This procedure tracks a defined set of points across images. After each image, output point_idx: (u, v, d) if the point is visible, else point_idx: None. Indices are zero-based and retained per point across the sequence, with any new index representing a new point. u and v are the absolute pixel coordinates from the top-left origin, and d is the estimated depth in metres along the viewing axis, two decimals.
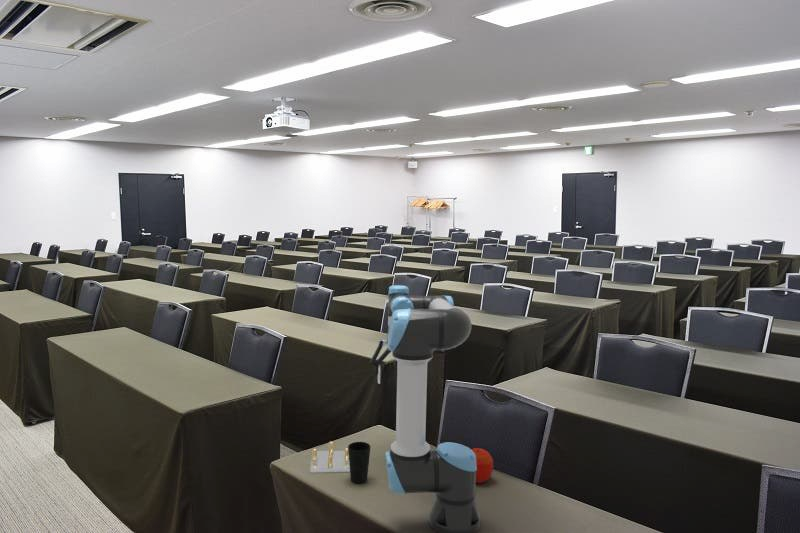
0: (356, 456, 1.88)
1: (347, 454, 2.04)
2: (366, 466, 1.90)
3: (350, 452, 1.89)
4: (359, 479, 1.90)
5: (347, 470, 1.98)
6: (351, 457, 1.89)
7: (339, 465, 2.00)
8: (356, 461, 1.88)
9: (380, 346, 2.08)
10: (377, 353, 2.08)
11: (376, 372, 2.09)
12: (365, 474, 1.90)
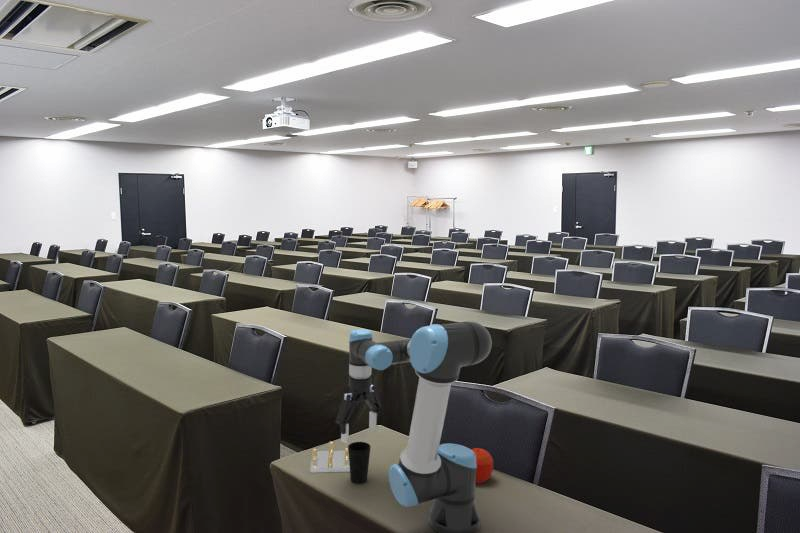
0: (356, 456, 1.88)
1: (347, 454, 2.04)
2: (366, 466, 1.90)
3: (350, 452, 1.89)
4: (359, 479, 1.90)
5: (347, 470, 1.98)
6: (351, 457, 1.89)
7: (339, 465, 2.00)
8: (356, 461, 1.88)
9: (348, 401, 1.84)
10: (346, 410, 1.83)
11: (344, 431, 1.84)
12: (365, 474, 1.90)
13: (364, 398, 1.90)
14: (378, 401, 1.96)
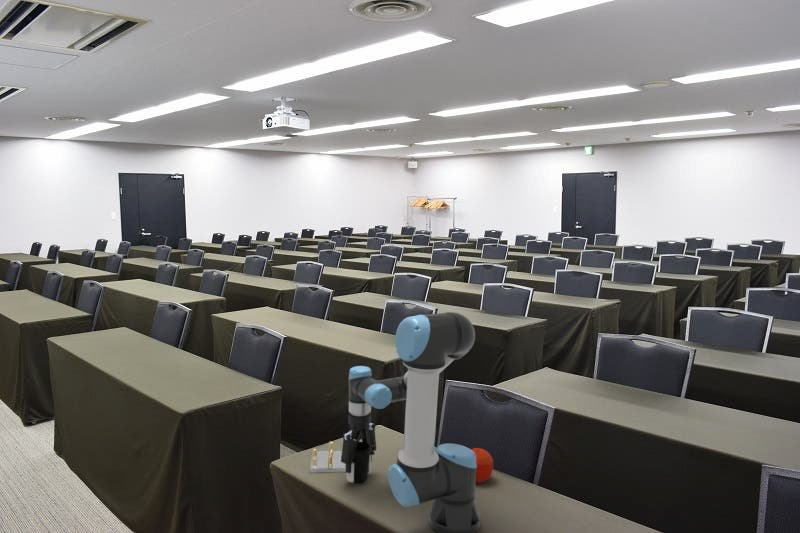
0: (356, 456, 1.88)
1: None
2: (366, 466, 1.90)
3: None
4: (359, 479, 1.90)
5: None
6: None
7: (339, 465, 2.00)
8: (356, 461, 1.88)
9: (349, 441, 1.86)
10: (348, 449, 1.86)
11: (349, 470, 1.88)
12: (365, 474, 1.90)
13: (364, 434, 1.91)
14: (374, 442, 1.96)
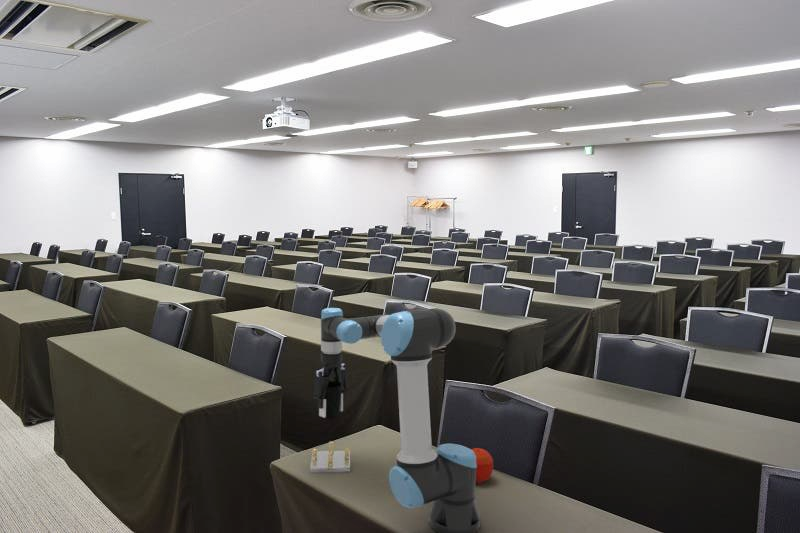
0: (328, 392, 1.98)
1: (347, 454, 2.04)
2: (337, 402, 2.00)
3: None
4: (331, 415, 2.00)
5: (347, 470, 1.98)
6: None
7: (339, 465, 2.00)
8: (328, 397, 1.98)
9: (321, 377, 1.96)
10: (320, 385, 1.96)
11: (321, 406, 1.98)
12: (337, 410, 2.01)
13: (335, 373, 2.01)
14: (346, 381, 2.06)
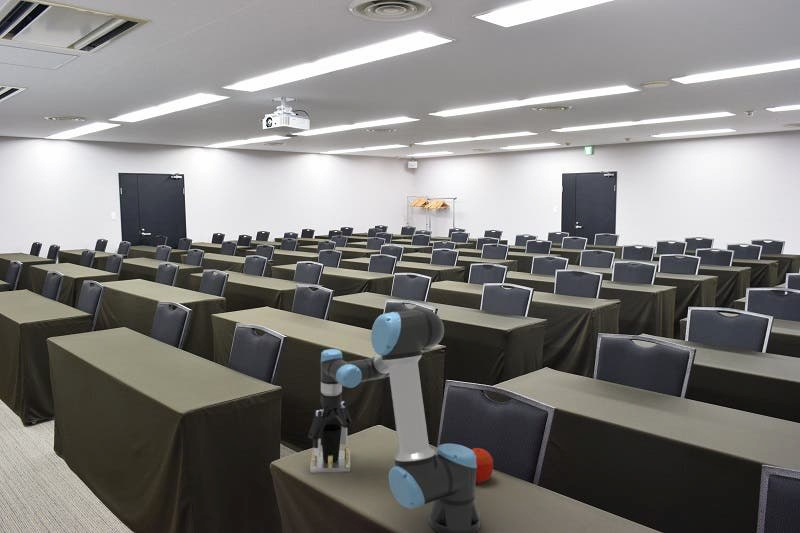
0: (327, 436, 2.00)
1: (347, 454, 2.04)
2: (337, 446, 2.02)
3: (322, 433, 2.01)
4: None
5: (347, 470, 1.98)
6: (323, 437, 2.01)
7: (339, 465, 2.00)
8: (328, 441, 2.00)
9: (319, 417, 1.97)
10: (317, 425, 1.96)
11: (316, 446, 1.97)
12: (336, 453, 2.02)
13: (335, 414, 2.03)
14: (349, 417, 2.08)
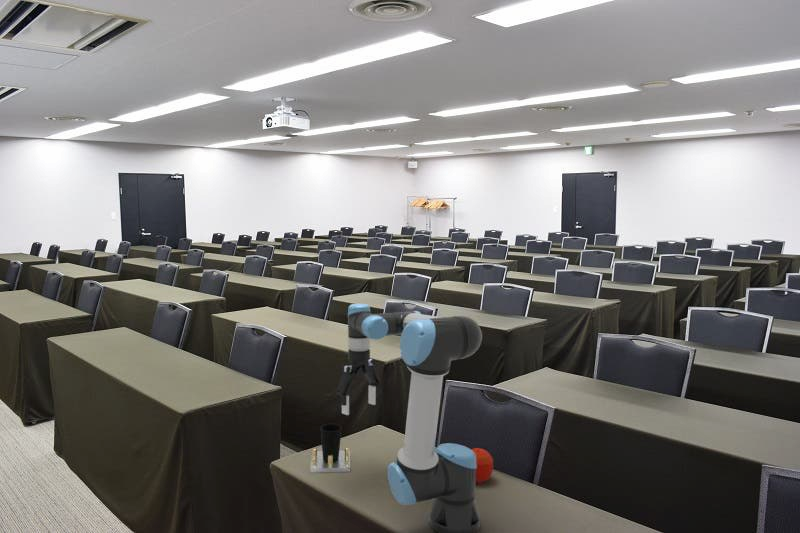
0: (327, 436, 2.00)
1: (347, 454, 2.04)
2: (337, 446, 2.02)
3: (322, 433, 2.01)
4: None
5: (347, 470, 1.98)
6: (323, 437, 2.01)
7: (339, 465, 2.00)
8: (328, 441, 2.00)
9: (348, 373, 1.88)
10: (346, 381, 1.88)
11: (344, 403, 1.88)
12: (336, 453, 2.02)
13: (363, 371, 1.94)
14: (377, 375, 2.00)
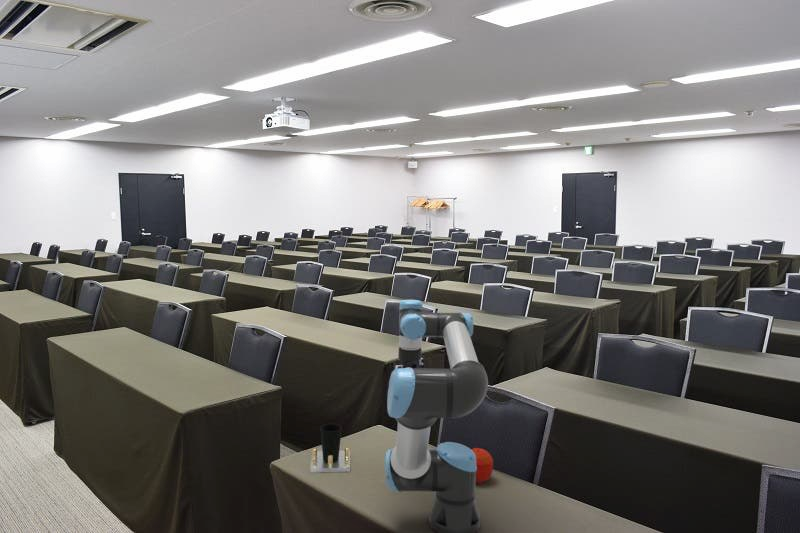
0: (327, 436, 2.00)
1: (347, 454, 2.04)
2: (337, 446, 2.02)
3: (322, 433, 2.01)
4: None
5: (347, 470, 1.98)
6: (323, 437, 2.01)
7: (339, 465, 2.00)
8: (328, 441, 2.00)
9: None
10: None
11: None
12: (336, 453, 2.02)
13: None
14: None
